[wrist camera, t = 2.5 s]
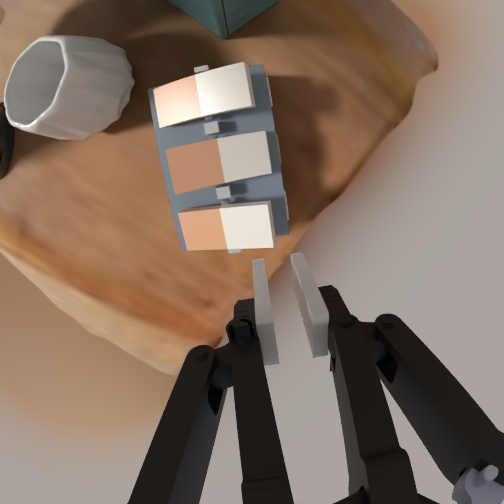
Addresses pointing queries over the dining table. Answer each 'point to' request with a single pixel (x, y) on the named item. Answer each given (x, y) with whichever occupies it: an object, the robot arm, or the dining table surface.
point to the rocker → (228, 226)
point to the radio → (223, 13)
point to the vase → (68, 87)
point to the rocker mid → (218, 161)
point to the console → (223, 126)
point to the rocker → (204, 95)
